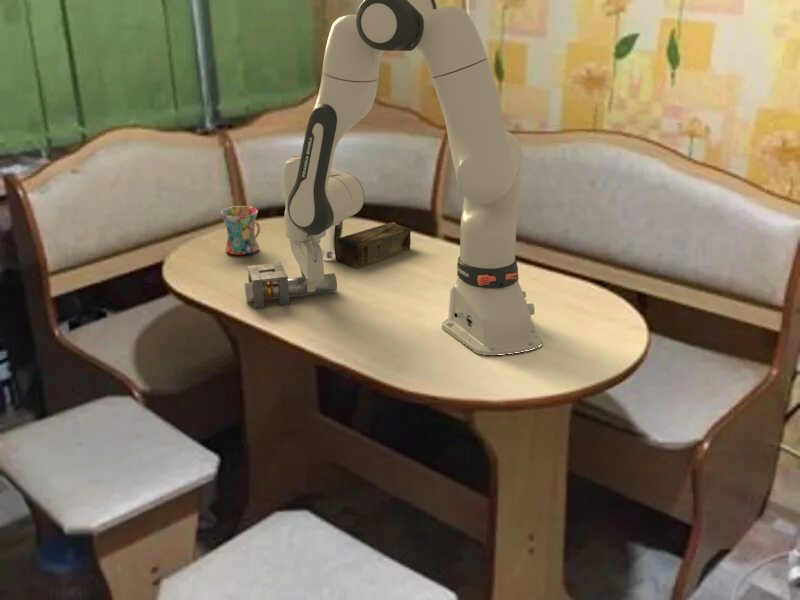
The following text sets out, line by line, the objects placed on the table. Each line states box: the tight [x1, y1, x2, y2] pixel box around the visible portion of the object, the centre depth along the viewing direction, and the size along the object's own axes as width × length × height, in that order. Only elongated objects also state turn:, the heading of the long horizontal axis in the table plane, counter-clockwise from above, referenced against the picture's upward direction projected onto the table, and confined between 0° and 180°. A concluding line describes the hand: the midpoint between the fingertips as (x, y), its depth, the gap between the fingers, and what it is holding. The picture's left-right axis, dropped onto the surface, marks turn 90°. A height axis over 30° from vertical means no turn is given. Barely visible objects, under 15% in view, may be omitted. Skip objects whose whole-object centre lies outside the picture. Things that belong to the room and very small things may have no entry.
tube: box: [243, 273, 338, 302], centre depth 197 cm, size 20×4×4 cm, turn 107°
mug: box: [219, 205, 261, 256], centre depth 222 cm, size 12×9×11 cm
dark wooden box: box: [336, 222, 412, 269], centre depth 220 cm, size 8×19×7 cm, turn 136°
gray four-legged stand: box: [247, 262, 290, 310], centre depth 195 cm, size 9×8×7 cm
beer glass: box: [319, 220, 345, 262], centre depth 218 cm, size 7×7×15 cm
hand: (308, 286), depth 198 cm, fingers closed on tube, 4 cm apart
